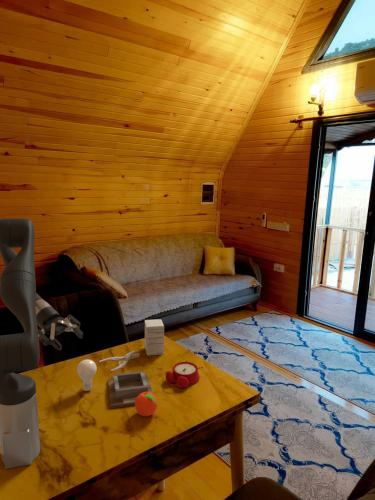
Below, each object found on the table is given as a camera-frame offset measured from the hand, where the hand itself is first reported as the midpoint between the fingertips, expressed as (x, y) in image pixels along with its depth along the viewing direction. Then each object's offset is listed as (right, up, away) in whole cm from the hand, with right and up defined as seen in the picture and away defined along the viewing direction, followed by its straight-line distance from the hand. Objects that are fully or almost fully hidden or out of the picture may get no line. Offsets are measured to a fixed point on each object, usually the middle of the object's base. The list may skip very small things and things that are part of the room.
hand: (71, 342), depth 127 cm
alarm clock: (+38, -16, +7) cm, 41 cm away
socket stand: (+20, -17, 0) cm, 26 cm away
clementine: (+27, -19, -12) cm, 36 cm away
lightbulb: (+5, -16, 0) cm, 17 cm away
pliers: (+13, -13, +20) cm, 27 cm away
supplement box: (+26, -11, +28) cm, 40 cm away
